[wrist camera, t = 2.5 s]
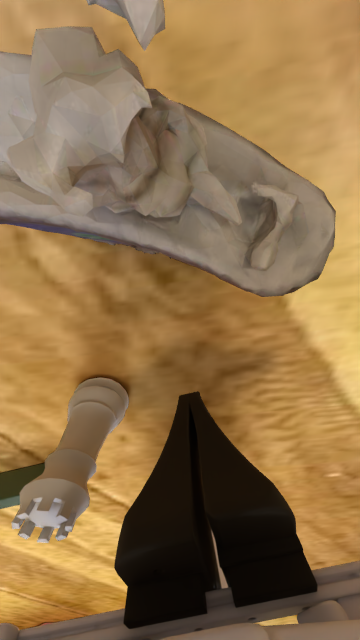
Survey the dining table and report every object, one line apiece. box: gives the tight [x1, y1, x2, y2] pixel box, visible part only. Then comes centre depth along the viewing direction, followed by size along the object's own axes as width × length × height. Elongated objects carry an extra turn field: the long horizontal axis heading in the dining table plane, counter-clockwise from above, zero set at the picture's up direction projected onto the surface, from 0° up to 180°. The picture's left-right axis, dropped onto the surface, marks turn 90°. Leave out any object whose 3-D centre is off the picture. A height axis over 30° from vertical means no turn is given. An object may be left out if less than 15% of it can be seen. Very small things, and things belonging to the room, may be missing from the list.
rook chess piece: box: [12, 377, 129, 543], centre depth 12 cm, size 4×4×8 cm
